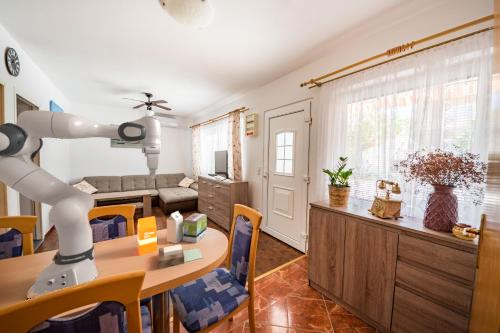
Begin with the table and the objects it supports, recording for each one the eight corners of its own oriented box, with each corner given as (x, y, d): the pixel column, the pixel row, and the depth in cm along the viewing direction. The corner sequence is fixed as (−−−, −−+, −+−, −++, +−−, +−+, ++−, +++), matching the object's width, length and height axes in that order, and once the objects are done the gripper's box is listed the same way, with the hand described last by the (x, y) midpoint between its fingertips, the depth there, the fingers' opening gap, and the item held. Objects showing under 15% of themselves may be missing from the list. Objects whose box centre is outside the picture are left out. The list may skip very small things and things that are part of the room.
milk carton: (167, 241, 123) (166, 213, 122) (174, 237, 130) (173, 210, 129) (176, 243, 121) (175, 214, 120) (183, 238, 128) (182, 211, 127)
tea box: (197, 243, 122) (197, 220, 121) (183, 241, 124) (182, 219, 123) (207, 233, 137) (206, 213, 136) (194, 232, 139) (194, 212, 138)
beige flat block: (164, 256, 99) (164, 252, 99) (163, 251, 104) (163, 247, 104) (182, 252, 103) (182, 249, 103) (181, 247, 108) (180, 244, 108)
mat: (184, 262, 101) (184, 261, 101) (181, 251, 111) (181, 251, 111) (202, 258, 105) (202, 257, 105) (198, 248, 116) (198, 247, 116)
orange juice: (157, 250, 112) (156, 217, 111) (140, 255, 107) (139, 221, 105) (154, 245, 118) (153, 214, 117) (137, 250, 113) (136, 217, 111)
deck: (159, 269, 94) (158, 261, 94) (158, 255, 107) (158, 248, 107) (184, 263, 100) (184, 256, 100) (181, 250, 112) (181, 244, 112)
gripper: (143, 149, 103) (144, 175, 104) (145, 149, 85) (146, 180, 86) (156, 150, 106) (157, 174, 107) (160, 149, 89) (161, 179, 90)
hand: (152, 177), depth 96 cm, fingers open, 8 cm apart
